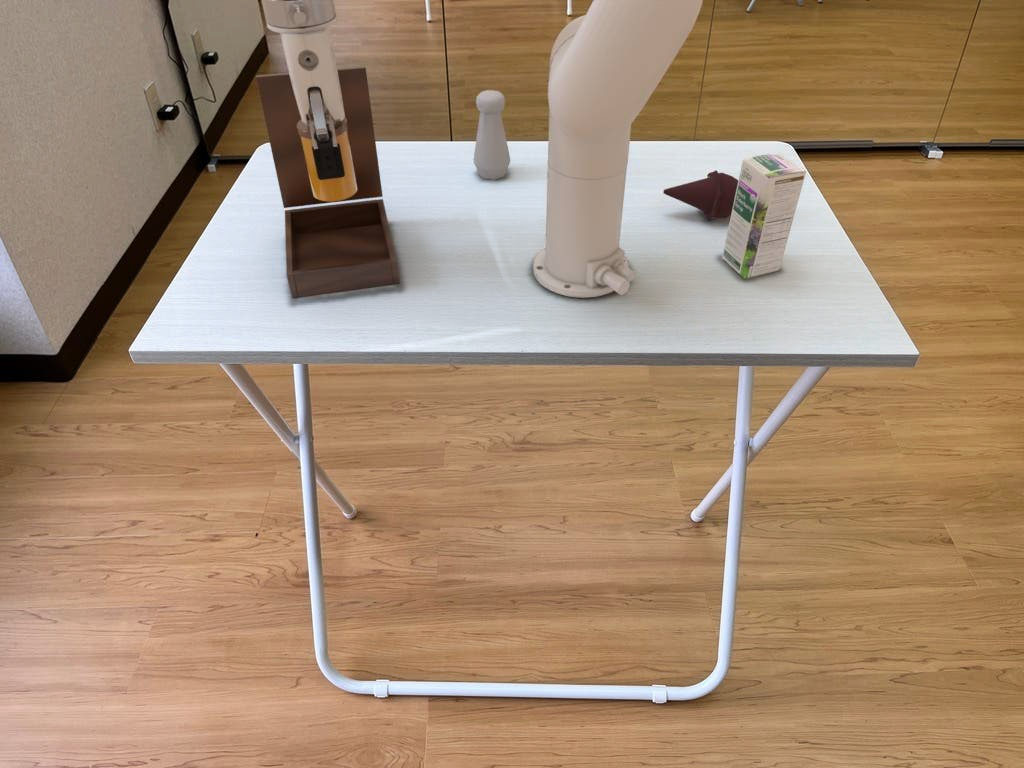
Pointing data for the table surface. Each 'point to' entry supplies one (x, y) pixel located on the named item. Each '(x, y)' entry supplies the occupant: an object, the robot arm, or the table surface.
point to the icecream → (708, 194)
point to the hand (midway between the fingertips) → (330, 164)
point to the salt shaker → (491, 136)
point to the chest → (339, 248)
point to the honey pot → (347, 184)
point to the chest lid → (288, 144)
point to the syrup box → (762, 214)
